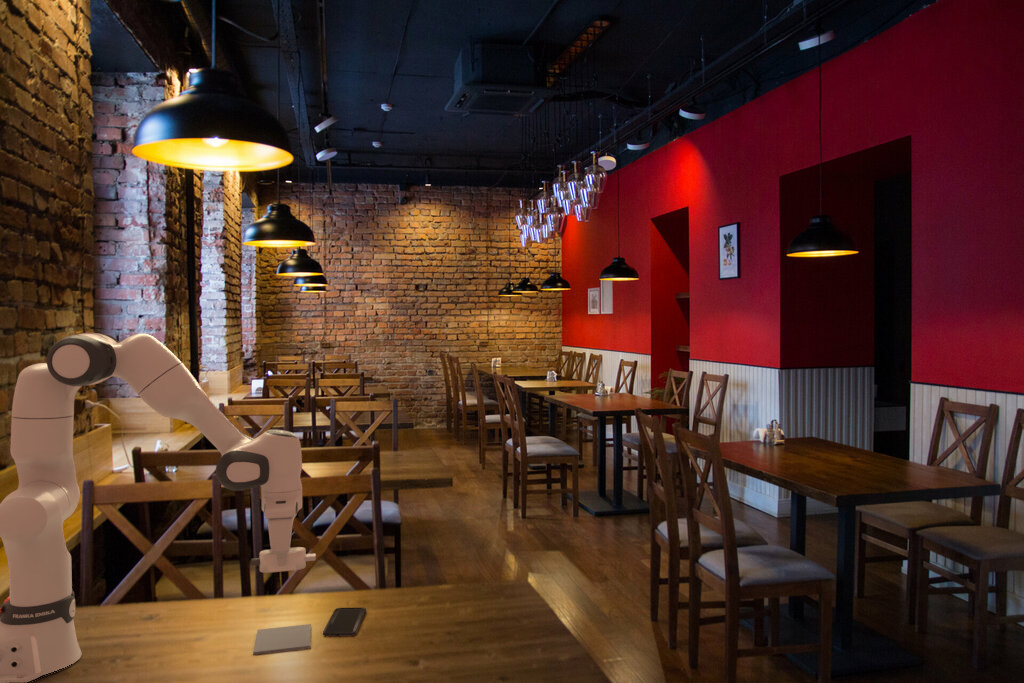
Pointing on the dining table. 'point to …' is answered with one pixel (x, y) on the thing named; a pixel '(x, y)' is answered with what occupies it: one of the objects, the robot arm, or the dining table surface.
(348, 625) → the phone
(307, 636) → the pad
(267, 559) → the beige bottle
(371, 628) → the dining table surface
